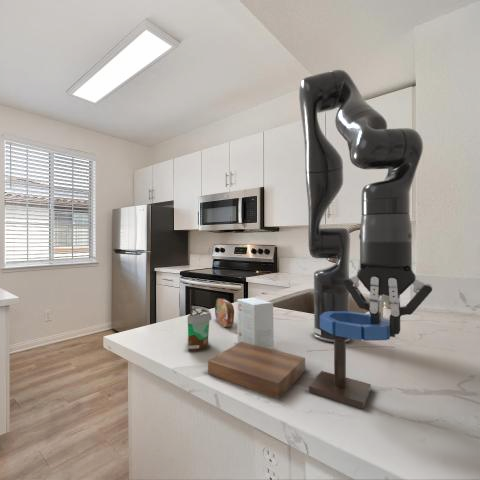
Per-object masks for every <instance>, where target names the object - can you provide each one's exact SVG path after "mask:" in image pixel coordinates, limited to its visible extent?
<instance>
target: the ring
mask: <svg viewBox="0 0 480 480" xmlns="http://www.w3.org/2000/svg"><path fill="white" fill-rule="evenodd" d="M320 328H321V329H323V330H325V331H327V332H329V333H330V334H332V335H334V334H335V335H336V336H341V337H346V338H350V340H356V341H362V340H363V341H365V342H369V341H370V342H371V341H388V340H389V341H390V339H391V337H390V319H387V318H384V317H381V322H380V323H379V324H370V313H364V312H356V311H351V310H350V311H348V312H346V311H327V312H324V313H323V314H321V315H320Z"/></svg>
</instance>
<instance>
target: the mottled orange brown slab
mask: <svg viewBox="0 0 480 480" xmlns="http://www.w3.org/2000/svg"><path fill="white" fill-rule="evenodd" d="M214 315H215V319H216V321H217V322H218V323H219V324H220V326H221V327H223V328H232V327H233V326H234V324H235V321H234V320H235V308H234V305H233V303H232V302H230V301H229V300H227V299H226V298H219V297H218V298H216V300H215V305H214Z"/></svg>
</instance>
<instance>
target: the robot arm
mask: <svg viewBox="0 0 480 480" xmlns="http://www.w3.org/2000/svg"><path fill="white" fill-rule="evenodd" d="M298 91H299V92H298V100H299V109H300V117H301V124H302V132H303V142H304V158H305V159H304V170H305V171H304V173H305V186H306V195H307V196H306V198H307V208H308V209H307V210H308V211H307V212H308V231H307V232H308V233H307V234H308V252H309V254H310V256H311V257H312V258H314V259H332V260H333V259H335V260H336V262H335V263H333V264H332V265H330V266H328V267H325V268H320V269H317V270H315V271H314V273H313V294H314V295H313V318H314V320H313V321H314V322H313V324H314V325H313V337H314V338H316V339H318V340H320V341H324V342H327V343H332V344H334V339H343V340H345V341H346V343H349V342H350V341H351V338H346V337H341V336H336V335H335V334H334V335H332V334H330V333H329V332H327V331H325V330H323V329H321V328H320V315H321V314H323V313H324V312H327V311H346V312H348V311H350V312H351V310H350V297H352V299H353V300H354V302H355V303H356V305H357V307H358V308H359V309H361V310H365V311H368V312H369V314H370V324H379V323H380V322H381V318H382V312H380V304H381V297H382V296H387V297H389V307H390V308H389V309H390V315H389V320H390V338H395V337H396V335H399V334H400V332H401V317H402V316H407V315H409V316H410V315H412V314H414V312H416V310H417V309H418V307H419V306H421V304H422V303H423V302H424V301H425V300H426V298H427V297H428V296H429V295H430V294H431V293H432V291H433V285H432V284H430V283H425V282H423V281H421V280H419V279H417V278H416V274H415V273H414V272H413V263H412V262H413V254H412V253H413V249H412V248H413V239H412V238H413V226H412V221H411V199H410V198H411V194H410V193H411V189H412V185H413V182H414V178H415V176H416V173H417V169H418V167H419V164H420V161H421V158H422V156H423V151H424V141H423V139H422V137H421V135H420V133H419V132H418V131H417V130H415V129H414V128H409V127H401V128H399V127H398V128H388V123H387V120H386V119H385V117H384V116H383V115H382V114H381V113H380V112H378V110H376V109H375V108H374V107H372V106H371V105H370V104H369V103H367V101H366V100H365V99H364V97H363V95H362V94H361V92H360V90H359V89H358V86H357V85H356V83H355V82H354V80H353V79H352V77H351V76H350V74H349V73H348V72H347V71H346V70H344V69H333V70H330V71H326V72H325V71H324V72H322V73H321V72H320V73H317V74H313V75H309V76H306V77H304V78H303V79H302V80H301V81H300V84H299V88H298ZM336 109H338V110H337V112H336V114H335V118H334V119H335V120H334V123H335V124H334V125H335V128H336V130H337V132H338V133H339V134H340V135H341V136H342V138H343V139H344V141H346V144H347V148H348V153H349V159H350V163H351V164H352V165H353V166H355V168H358V169H361V170H367V171H368V170H387V173H386V176H385V178H384V179H383V180H380V181H375V182H370V183H368V184H366V185H365V186H363V188H362V191H361V218H360V226H359V236H358V238H359V269H358V270H357V272H356V275H354V276H351V277H350V253H351V234H350V231H349V229H348V228H346V227H321V223H322V220H323V218H324V216H325V214H326V212H327V210H328V209H329V207H330V205H331V204H332V203H333V201H334V200H335V199H336V197H337V196H338V194H339V193H340V191H341V189H342V188H343V185H344V161H343V158H342V156H341V154H340V153H339V151H338V150H337V149H336V148H335V146H334V145H333V144H332V143H331V142H330V140H329V139H328V138H327V137H326V136H325V134H324V132H323V131H322V128H321V126H320V123H319V118H318V114H319V113H324V112H328V111H329V112H330V111H334V110H336ZM360 282H361V284H362V285H363V286H364V288H366V290H367V291H368V292H369V301H368V300H367V299H366V298H365V296H364V295H363V293H362V292H361V290H360V288H358V287H360ZM411 285H413V290H412V291H413V292H414V293H415V295H414V296H413V297H412V298H411V299H410V300H409V302H408V303H407V304H406V305H405V306H401V295H402V294H403V293H404V292H405V291H407V289H408V288H410V286H411Z"/></svg>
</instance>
